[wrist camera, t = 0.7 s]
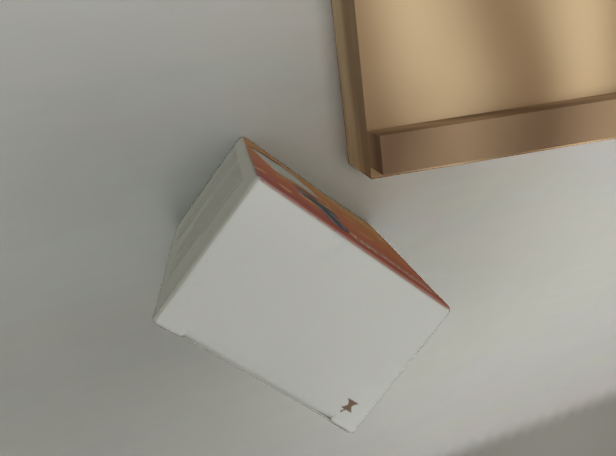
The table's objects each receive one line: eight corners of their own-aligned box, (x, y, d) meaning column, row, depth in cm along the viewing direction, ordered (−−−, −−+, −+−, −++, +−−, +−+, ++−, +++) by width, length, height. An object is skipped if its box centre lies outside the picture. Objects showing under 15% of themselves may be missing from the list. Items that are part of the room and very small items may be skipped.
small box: (371, 225, 28) (460, 312, 18) (305, 311, 29) (355, 441, 19) (240, 130, 26) (258, 171, 16) (172, 227, 26) (147, 324, 16)
